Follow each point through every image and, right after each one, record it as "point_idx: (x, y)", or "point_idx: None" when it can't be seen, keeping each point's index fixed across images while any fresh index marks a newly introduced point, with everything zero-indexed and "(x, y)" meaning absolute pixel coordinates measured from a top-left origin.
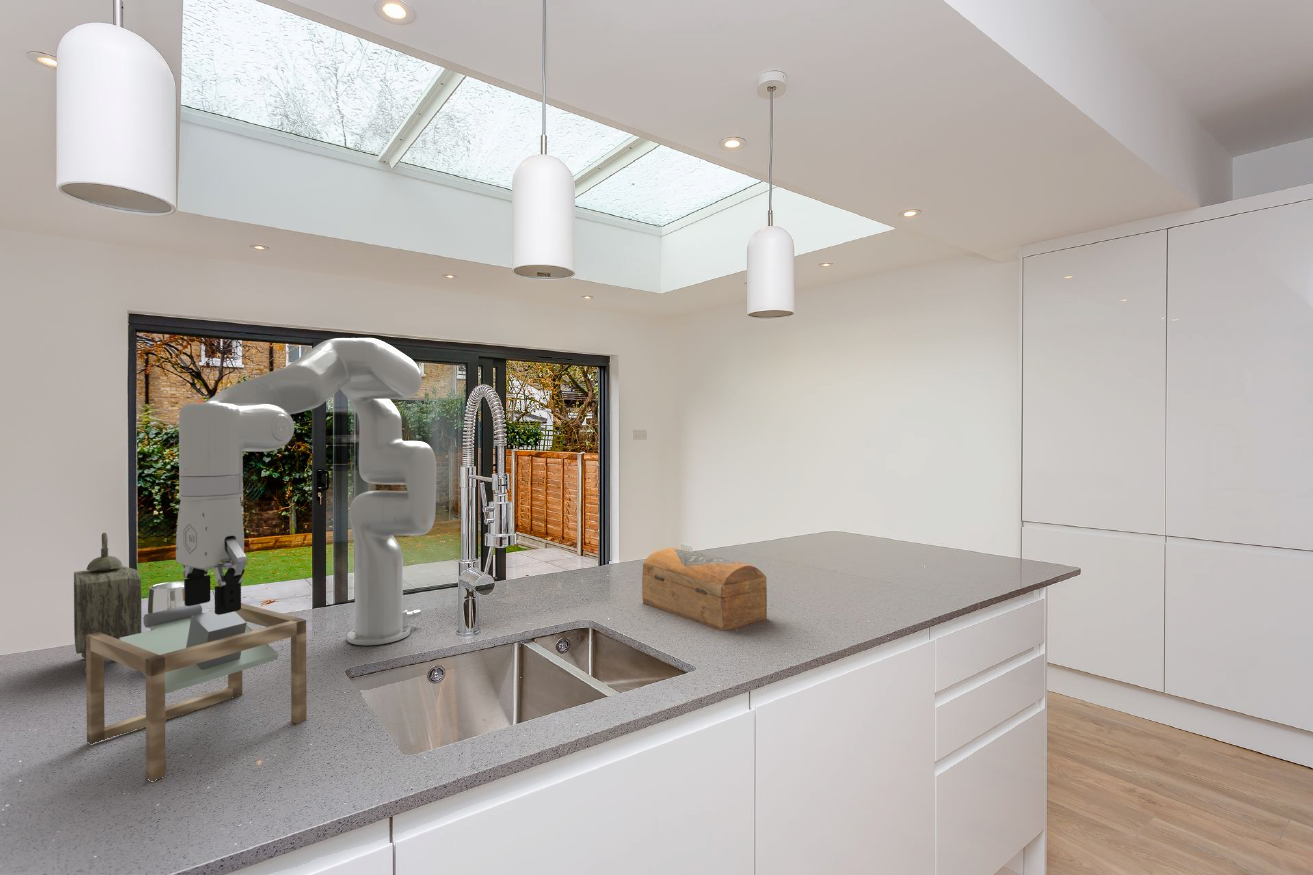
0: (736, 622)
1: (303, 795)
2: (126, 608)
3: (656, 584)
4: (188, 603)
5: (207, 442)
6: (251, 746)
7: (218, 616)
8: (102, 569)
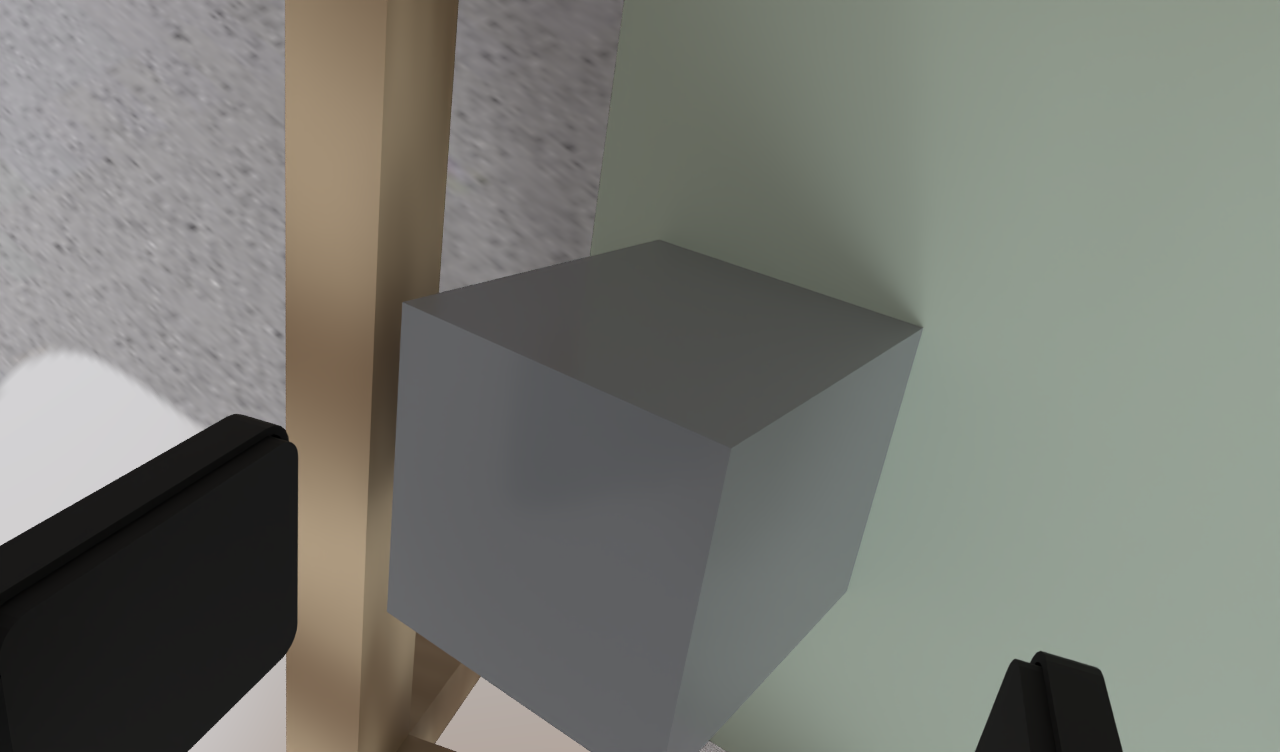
0: None
1: (72, 25)
2: None
3: None
4: (1019, 676)
5: None
6: (559, 235)
7: (568, 580)
8: None
